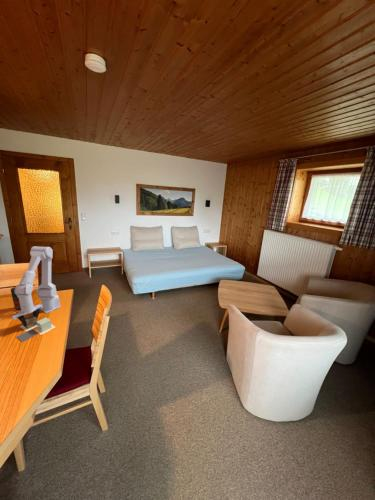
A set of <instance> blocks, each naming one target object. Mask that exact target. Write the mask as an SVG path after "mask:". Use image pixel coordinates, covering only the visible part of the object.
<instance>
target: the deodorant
mask: <svg viewBox="0 0 375 500" xmlns="http://www.w3.org/2000/svg"><path fill="white" fill-rule="evenodd" d="M15 287H16V286H14V287H11V288H10V293H11V298H12V302H13V307H14V310H15V311H16V312H18V311H19V312H20V311H21V307H20V302H19V298H18V297H17V295H16V294H15V293H14V291H15Z"/></svg>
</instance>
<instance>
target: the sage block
mask: <svg viewBox="0 0 375 500" xmlns="http://www.w3.org/2000/svg"><path fill="white" fill-rule="evenodd" d="M51 324H52V321H51V319H49V318H48V317H43V318H42V319H40V320H37V327H36V328H38V329H39V330H40V331H41V332H44V331H46V330H48V329H50V328H52V326H51Z"/></svg>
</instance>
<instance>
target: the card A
mask: <svg viewBox="0 0 375 500" xmlns="http://www.w3.org/2000/svg"><path fill="white" fill-rule="evenodd" d="M19 328H21V329H22V330H24V331H25V332H27V331H29V330H34V329H36V328H38V327H37V325H36V326H33V327H31V328H29V329H27V328H26V327H24V326H23V324H22V325H20V326H19Z"/></svg>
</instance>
